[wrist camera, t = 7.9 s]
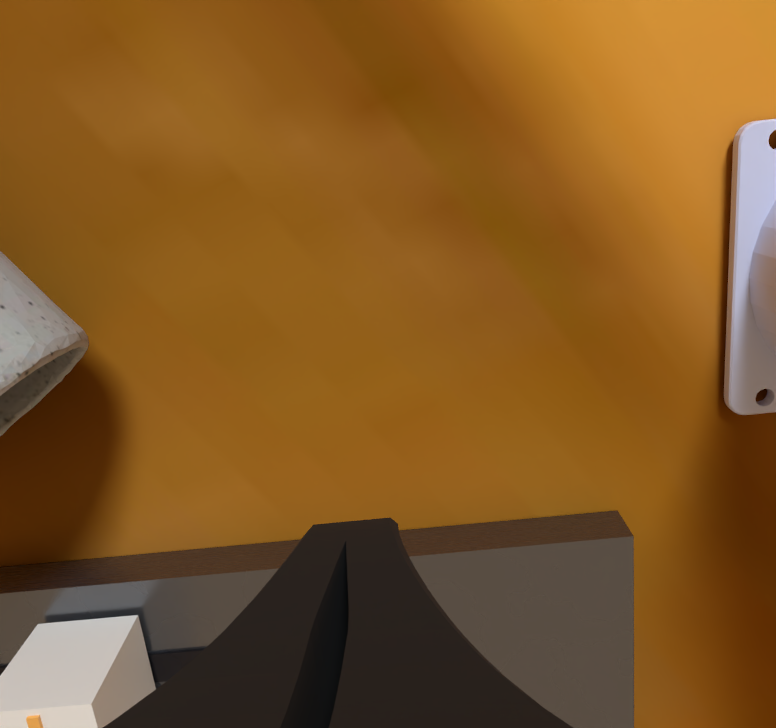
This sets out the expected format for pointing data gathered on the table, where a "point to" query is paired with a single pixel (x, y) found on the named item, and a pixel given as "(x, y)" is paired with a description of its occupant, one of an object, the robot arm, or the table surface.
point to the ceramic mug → (31, 344)
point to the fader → (76, 674)
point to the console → (439, 573)
